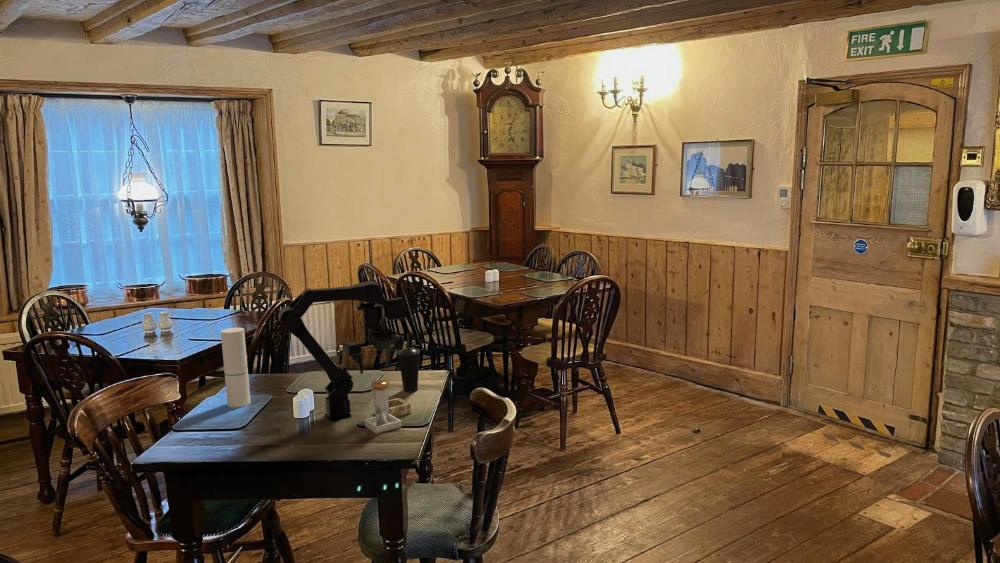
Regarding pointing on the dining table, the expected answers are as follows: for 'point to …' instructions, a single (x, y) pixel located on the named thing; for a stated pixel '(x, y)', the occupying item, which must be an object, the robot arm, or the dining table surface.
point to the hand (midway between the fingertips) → (375, 370)
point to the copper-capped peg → (381, 401)
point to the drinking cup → (409, 367)
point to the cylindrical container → (235, 367)
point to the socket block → (398, 407)
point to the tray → (392, 424)
